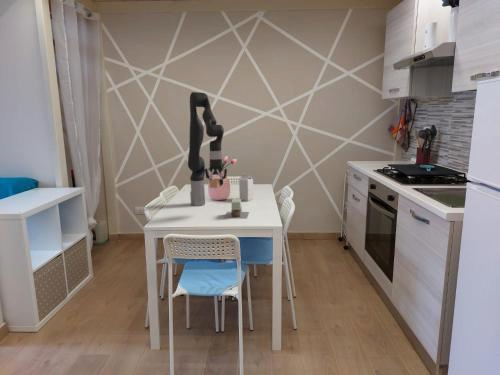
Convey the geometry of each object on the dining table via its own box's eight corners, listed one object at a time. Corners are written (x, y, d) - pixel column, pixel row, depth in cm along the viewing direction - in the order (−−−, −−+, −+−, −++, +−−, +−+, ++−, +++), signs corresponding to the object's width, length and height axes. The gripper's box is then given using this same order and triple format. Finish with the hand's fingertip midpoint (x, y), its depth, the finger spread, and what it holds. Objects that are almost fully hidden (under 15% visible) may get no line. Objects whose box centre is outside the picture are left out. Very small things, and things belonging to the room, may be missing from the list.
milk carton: (248, 201, 258) (247, 175, 254) (239, 200, 262) (239, 174, 258) (253, 199, 264) (252, 173, 260) (245, 198, 268) (244, 172, 264)
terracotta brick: (209, 187, 223) (209, 180, 222) (215, 184, 230) (215, 177, 229) (217, 187, 221) (217, 180, 220) (222, 185, 228) (222, 178, 227)
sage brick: (231, 209, 215) (231, 202, 214) (233, 206, 223) (232, 198, 222) (240, 209, 215) (239, 202, 214) (241, 206, 223) (241, 198, 222)
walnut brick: (231, 216, 216) (231, 209, 215) (233, 213, 224) (233, 206, 223) (239, 216, 216) (239, 209, 215) (241, 213, 223) (241, 206, 222)
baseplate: (223, 220, 214) (223, 218, 214) (227, 214, 228) (227, 211, 227) (246, 221, 213) (246, 218, 212) (249, 214, 226) (249, 211, 226)
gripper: (202, 158, 219) (203, 186, 222) (226, 159, 217) (226, 186, 221) (205, 157, 226) (206, 183, 230) (228, 157, 225) (228, 184, 228)
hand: (216, 185), depth 225 cm, fingers closed on terracotta brick, 5 cm apart
